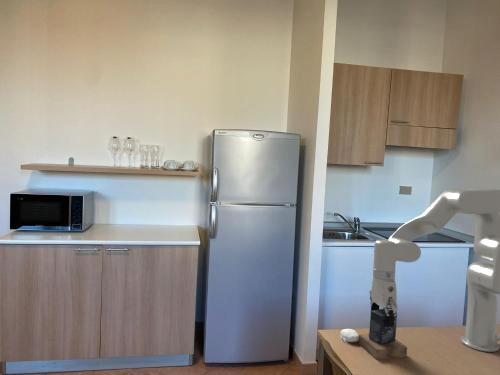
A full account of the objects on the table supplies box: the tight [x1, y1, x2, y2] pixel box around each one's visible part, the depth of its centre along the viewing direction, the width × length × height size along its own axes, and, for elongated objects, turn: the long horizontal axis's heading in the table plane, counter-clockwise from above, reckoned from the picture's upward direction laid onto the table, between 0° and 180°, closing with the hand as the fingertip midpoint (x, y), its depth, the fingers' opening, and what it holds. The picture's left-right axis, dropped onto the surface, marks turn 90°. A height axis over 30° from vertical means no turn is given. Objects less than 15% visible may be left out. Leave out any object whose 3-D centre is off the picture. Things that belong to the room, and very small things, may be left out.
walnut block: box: [357, 333, 408, 360], centre depth 137 cm, size 12×12×4 cm
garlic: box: [339, 328, 360, 345], centre depth 145 cm, size 8×7×4 cm
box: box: [368, 308, 398, 345], centre depth 137 cm, size 8×6×11 cm
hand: (381, 320), depth 138 cm, fingers open, 9 cm apart
